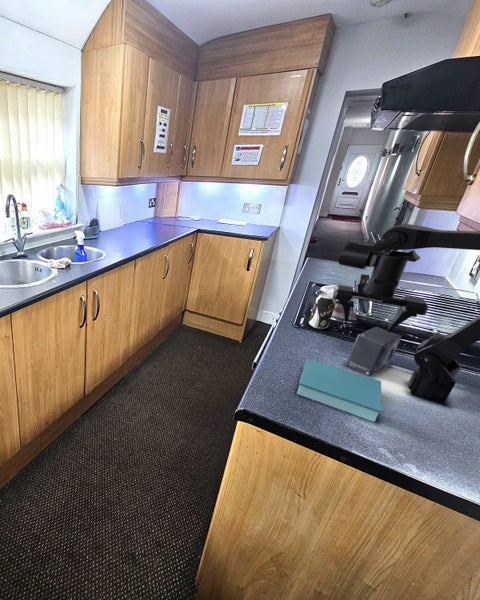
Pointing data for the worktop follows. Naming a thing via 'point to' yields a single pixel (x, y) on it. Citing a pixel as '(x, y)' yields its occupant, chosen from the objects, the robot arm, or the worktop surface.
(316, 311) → the beverage can
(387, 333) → the small box
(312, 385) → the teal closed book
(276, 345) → the worktop surface
